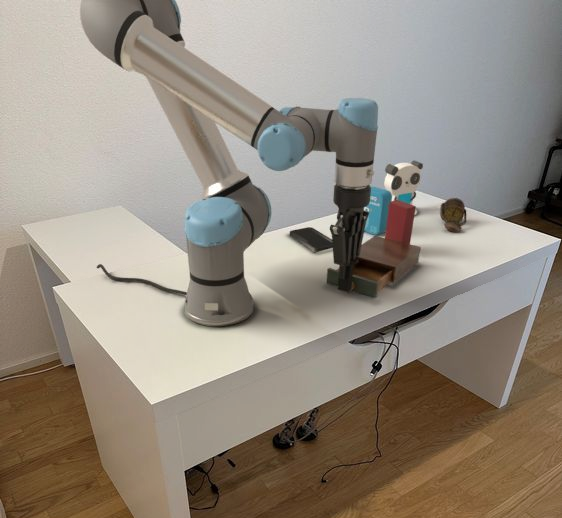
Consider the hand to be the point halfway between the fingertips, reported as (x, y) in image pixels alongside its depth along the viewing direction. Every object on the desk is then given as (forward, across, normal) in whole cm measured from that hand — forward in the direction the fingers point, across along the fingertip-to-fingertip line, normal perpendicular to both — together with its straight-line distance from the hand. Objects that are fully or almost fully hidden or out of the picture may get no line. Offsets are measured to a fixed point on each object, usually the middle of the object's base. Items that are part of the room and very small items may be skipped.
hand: (344, 289), depth 123 cm
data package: (+3, +44, +17) cm, 47 cm away
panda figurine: (+3, +64, +16) cm, 66 cm away
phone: (+3, +26, +25) cm, 36 cm away
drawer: (+3, +11, 0) cm, 11 cm away
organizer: (+3, +21, 0) cm, 21 cm away
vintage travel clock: (+3, +62, -2) cm, 62 cm away
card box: (+3, +34, +3) cm, 35 cm away
